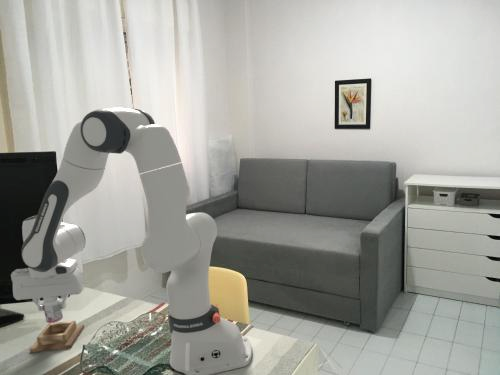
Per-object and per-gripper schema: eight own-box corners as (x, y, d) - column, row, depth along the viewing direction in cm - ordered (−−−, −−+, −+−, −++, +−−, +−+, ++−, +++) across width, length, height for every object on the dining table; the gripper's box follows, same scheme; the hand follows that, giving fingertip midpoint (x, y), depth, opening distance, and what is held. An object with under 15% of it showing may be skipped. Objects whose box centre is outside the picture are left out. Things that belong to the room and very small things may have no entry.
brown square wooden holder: (84, 327, 136) (82, 317, 136) (71, 347, 124) (69, 337, 124) (47, 331, 136) (45, 321, 135) (30, 352, 124) (28, 341, 123)
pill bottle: (42, 322, 128) (38, 296, 126) (56, 314, 132) (51, 290, 131) (53, 325, 126) (48, 299, 124) (66, 317, 130) (62, 292, 128)
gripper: (4, 273, 122) (13, 317, 125) (75, 267, 123) (82, 310, 126) (15, 266, 128) (23, 307, 131) (82, 259, 129) (89, 301, 132)
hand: (52, 309), depth 128 cm, fingers closed on pill bottle, 5 cm apart
